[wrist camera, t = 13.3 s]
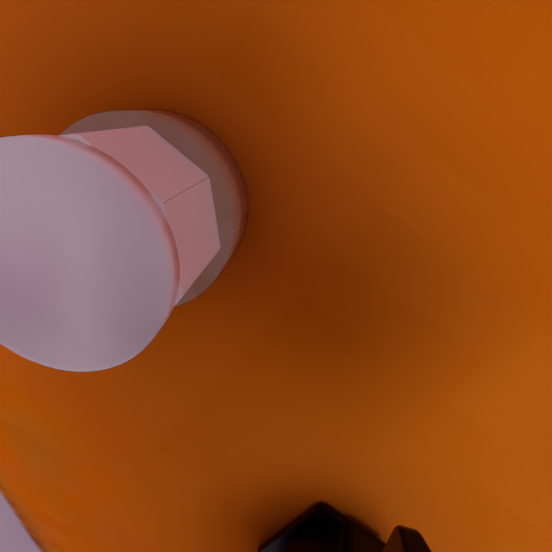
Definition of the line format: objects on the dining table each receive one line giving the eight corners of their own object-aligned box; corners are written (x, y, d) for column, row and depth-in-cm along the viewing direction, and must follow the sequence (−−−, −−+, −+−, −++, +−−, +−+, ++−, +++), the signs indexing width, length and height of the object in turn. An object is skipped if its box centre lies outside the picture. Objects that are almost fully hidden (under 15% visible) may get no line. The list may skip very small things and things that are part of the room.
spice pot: (187, 309, 20) (118, 406, 14) (54, 211, 19) (-87, 266, 13) (283, 191, 17) (253, 242, 11) (134, 67, 16) (3, 43, 10)
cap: (254, 210, 15) (218, 258, 10) (159, 327, 17) (95, 409, 13) (101, 82, 14) (-17, 72, 9) (23, 226, 16) (-100, 275, 12)
